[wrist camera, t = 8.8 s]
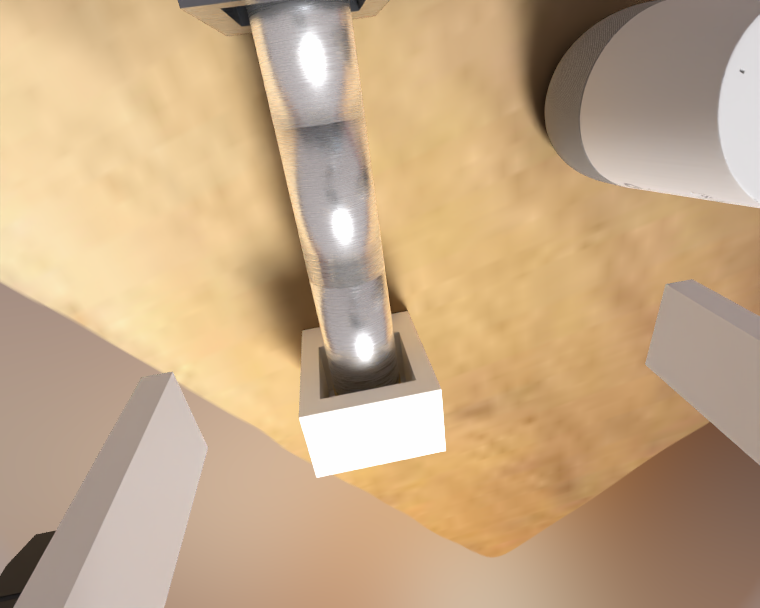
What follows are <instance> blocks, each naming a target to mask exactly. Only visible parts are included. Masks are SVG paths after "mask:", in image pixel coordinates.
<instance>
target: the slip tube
mask: <svg viewBox="0 0 760 608" xmlns="http://www.w3.org/2000/svg"><path fill="white" fill-rule="evenodd" d="M246 8H247V12H248V17H249V21H250V25H251V30H252V34H253V38H254V43H255V47H256V51H257V56H258V60H259V64H260V69H261V73H262V77H263V82H264V86H265V90H266V95H267V99H268V103H269V108H270V112H271V116H272V121H273V125H274V129H275V134H276V138H277V142H278V147H279V151H280V155H281V160H282V164H283V168H284V173H285V177H286V181H287V186H288V190H289V194H290V199H291V203H292V208H293V212H294V216H295V221H296V225H297V229H298V234H299V238H300V242H301V247H302V251H303V255H304V260H305V264H306V268H307V273H308V277H309V281H310V286H311V290H312V294H313V299H314V303H315V307H316V312H317V316H318V320H319V325H320V329H321V333H322V338H323V342H324V346H325V351H326V355H327V359H328V364H329V368H330V372H331V377H332V381H333V389H334V393H335V396H339V395H344V394H349V393H354V392H359V391H364V390H370V389H375V388H380V387H385V386H390V385H395V384H400V383H401V380H400V374H399V370H398V363H397V355H396V348H395V340H394V333H393V325H392V317H391V310H390V302H389V295H388V287H387V280H386V272H385V265H384V257H383V250H382V242H381V235H380V227H379V220H378V212H377V204H376V197H375V189H374V182H373V174H372V167H371V159H370V152H369V144H368V137H367V129H366V122H365V114H364V107H363V99H362V92H361V84H360V76H359V69H358V61H357V54H356V46H355V39H354V31H353V24H352V16H351V9H350V1H349V0H282V1H274V2H267V3H259V4H251V5H246Z"/></svg>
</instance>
